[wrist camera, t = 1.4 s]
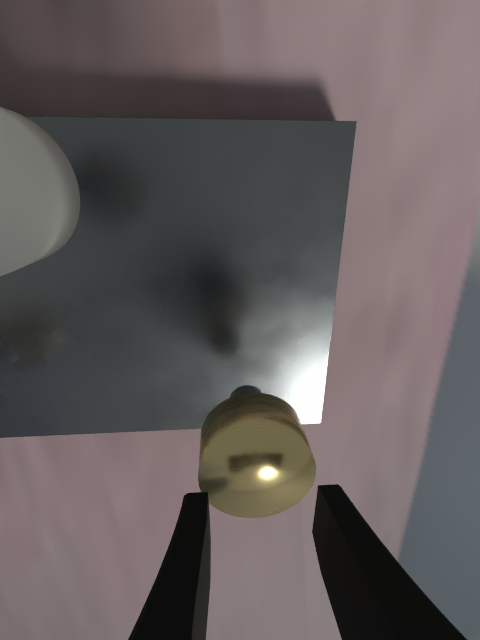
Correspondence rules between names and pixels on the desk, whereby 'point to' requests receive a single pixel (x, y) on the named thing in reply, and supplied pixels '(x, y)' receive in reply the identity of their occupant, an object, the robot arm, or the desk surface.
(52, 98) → the desk surface
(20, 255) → the middle white knob
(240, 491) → the outer brass knob
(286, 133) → the plate
